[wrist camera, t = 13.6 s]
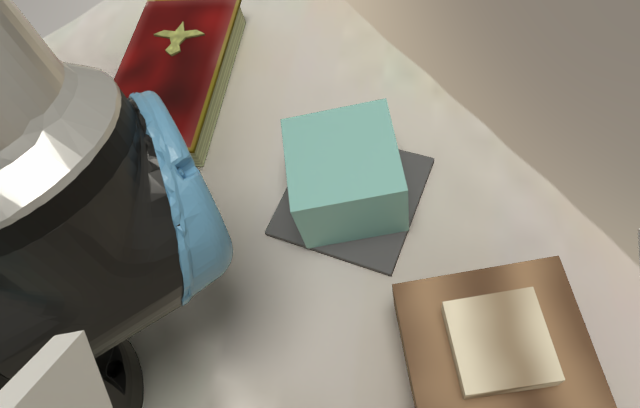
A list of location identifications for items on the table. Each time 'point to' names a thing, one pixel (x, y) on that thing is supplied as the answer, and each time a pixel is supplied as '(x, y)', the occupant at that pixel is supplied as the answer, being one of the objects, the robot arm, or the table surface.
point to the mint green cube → (345, 174)
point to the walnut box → (499, 340)
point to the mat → (366, 251)
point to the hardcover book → (185, 62)
